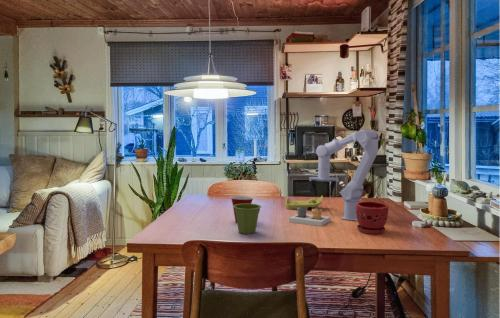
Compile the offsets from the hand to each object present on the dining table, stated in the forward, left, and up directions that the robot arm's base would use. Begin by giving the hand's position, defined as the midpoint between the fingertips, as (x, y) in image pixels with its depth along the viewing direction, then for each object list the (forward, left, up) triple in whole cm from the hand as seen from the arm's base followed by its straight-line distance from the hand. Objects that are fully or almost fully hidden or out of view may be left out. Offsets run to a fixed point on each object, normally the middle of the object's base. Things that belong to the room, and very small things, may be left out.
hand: (323, 195), depth 216 cm
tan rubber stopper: (-4, +20, -9) cm, 22 cm away
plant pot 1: (+14, +52, -10) cm, 55 cm away
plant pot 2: (-31, +24, -10) cm, 40 cm away
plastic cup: (+26, +37, -10) cm, 46 cm away
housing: (-1, +20, -9) cm, 22 cm away
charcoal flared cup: (+3, +20, -9) cm, 22 cm away
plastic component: (+14, -8, -10) cm, 19 cm away
